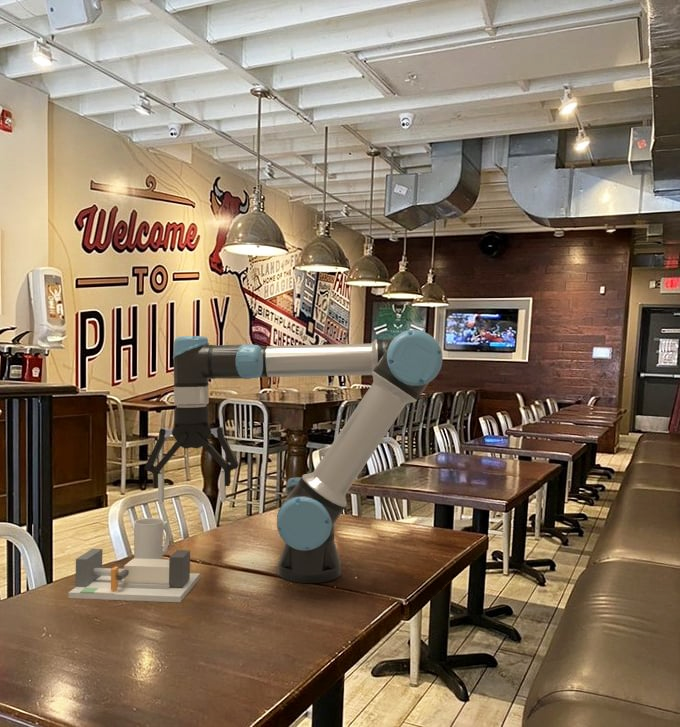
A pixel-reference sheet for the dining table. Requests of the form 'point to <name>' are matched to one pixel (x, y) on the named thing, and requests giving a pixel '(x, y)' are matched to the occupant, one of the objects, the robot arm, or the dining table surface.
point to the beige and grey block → (158, 570)
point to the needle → (114, 578)
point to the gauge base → (120, 583)
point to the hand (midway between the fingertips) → (192, 502)
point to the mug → (150, 538)
